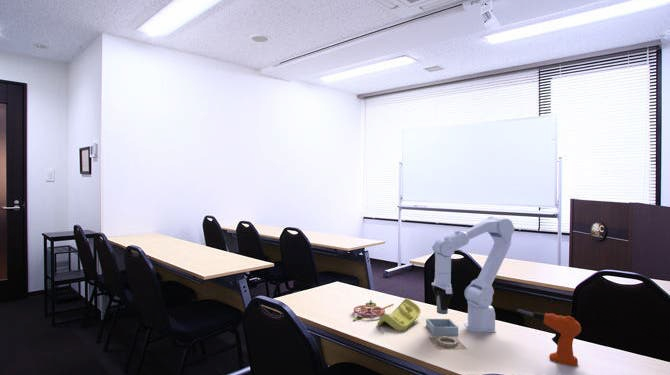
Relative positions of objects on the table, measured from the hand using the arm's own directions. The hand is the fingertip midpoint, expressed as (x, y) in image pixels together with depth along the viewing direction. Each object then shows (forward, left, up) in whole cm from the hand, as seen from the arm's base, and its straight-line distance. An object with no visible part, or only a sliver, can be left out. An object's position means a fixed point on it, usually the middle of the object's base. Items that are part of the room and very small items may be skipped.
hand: (442, 307), depth 141 cm
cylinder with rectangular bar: (0, 0, -2) cm, 2 cm away
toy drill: (-27, +22, -9) cm, 36 cm away
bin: (0, 0, -9) cm, 9 cm away
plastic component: (+13, -8, -9) cm, 18 cm away
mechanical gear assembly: (+22, -21, -10) cm, 32 cm away
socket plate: (+2, +12, -9) cm, 15 cm away
